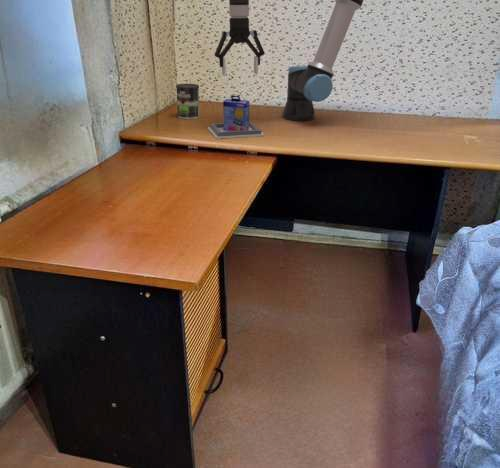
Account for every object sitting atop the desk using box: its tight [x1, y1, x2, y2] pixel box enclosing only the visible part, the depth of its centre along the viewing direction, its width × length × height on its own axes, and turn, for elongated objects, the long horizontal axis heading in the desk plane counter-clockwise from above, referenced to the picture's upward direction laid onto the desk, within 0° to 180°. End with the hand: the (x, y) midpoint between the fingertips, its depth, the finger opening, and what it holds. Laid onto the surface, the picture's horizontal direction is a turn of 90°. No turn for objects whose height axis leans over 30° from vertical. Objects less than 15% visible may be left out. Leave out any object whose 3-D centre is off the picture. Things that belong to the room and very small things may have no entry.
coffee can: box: [175, 83, 200, 120], centre depth 219 cm, size 10×10×14 cm
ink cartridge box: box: [222, 94, 250, 131], centre depth 195 cm, size 10×6×14 cm, turn 73°
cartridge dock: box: [207, 121, 265, 140], centre depth 198 cm, size 20×16×2 cm
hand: (240, 74), depth 194 cm, fingers open, 13 cm apart
